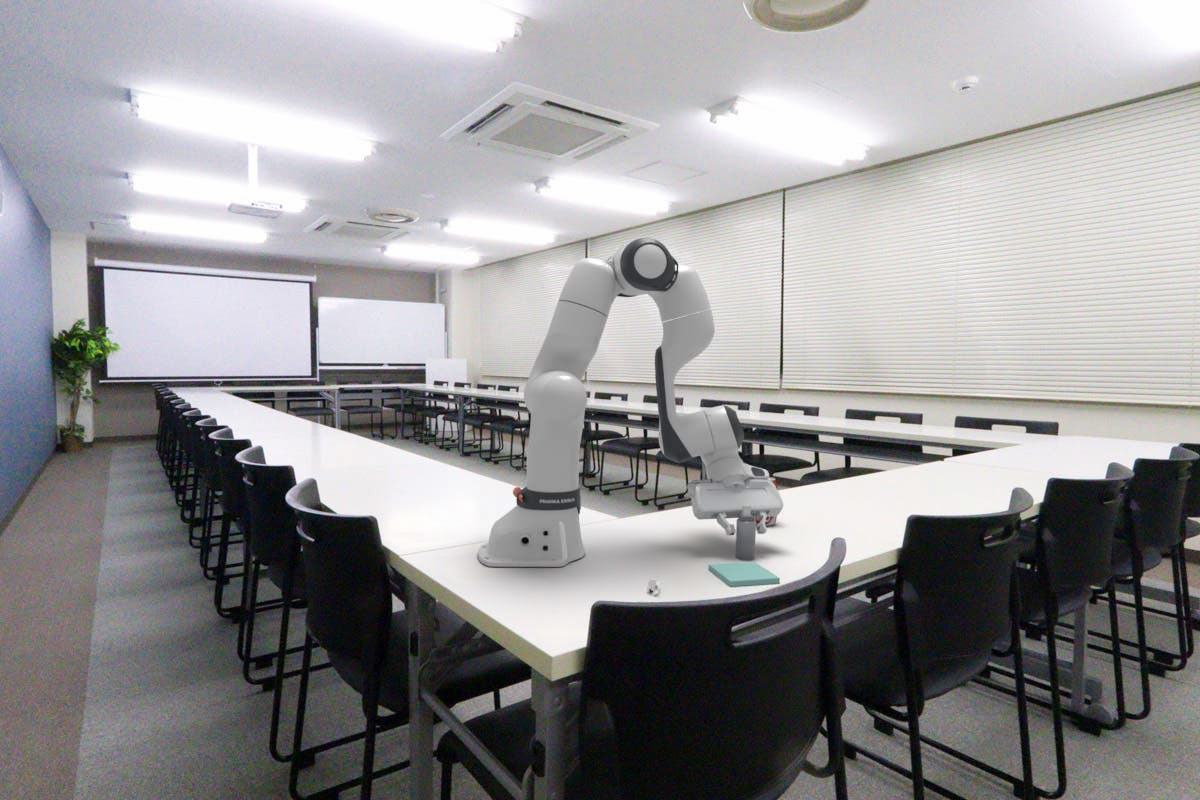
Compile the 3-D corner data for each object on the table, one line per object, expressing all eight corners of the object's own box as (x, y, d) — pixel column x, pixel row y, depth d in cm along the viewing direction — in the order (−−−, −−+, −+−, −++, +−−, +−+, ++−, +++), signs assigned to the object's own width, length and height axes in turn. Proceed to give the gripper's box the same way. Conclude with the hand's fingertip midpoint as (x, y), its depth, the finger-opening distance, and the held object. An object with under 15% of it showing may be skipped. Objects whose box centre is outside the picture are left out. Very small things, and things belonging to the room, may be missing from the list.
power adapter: (644, 594, 112) (645, 577, 112) (655, 591, 114) (656, 574, 114) (655, 599, 110) (656, 582, 110) (667, 596, 111) (667, 579, 111)
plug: (740, 561, 131) (742, 508, 131) (732, 555, 135) (733, 503, 135) (758, 559, 132) (759, 507, 132) (749, 554, 136) (750, 503, 136)
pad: (730, 586, 116) (730, 581, 116) (708, 569, 125) (708, 564, 125) (779, 583, 118) (779, 578, 118) (754, 566, 128) (754, 561, 128)
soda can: (749, 526, 160) (750, 479, 160) (747, 520, 167) (749, 475, 167) (778, 528, 159) (779, 481, 159) (775, 521, 166) (776, 476, 166)
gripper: (689, 472, 137) (705, 527, 128) (774, 470, 142) (795, 523, 133) (681, 488, 142) (696, 543, 133) (763, 486, 147) (784, 538, 138)
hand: (747, 533), depth 133 cm, fingers open, 6 cm apart
